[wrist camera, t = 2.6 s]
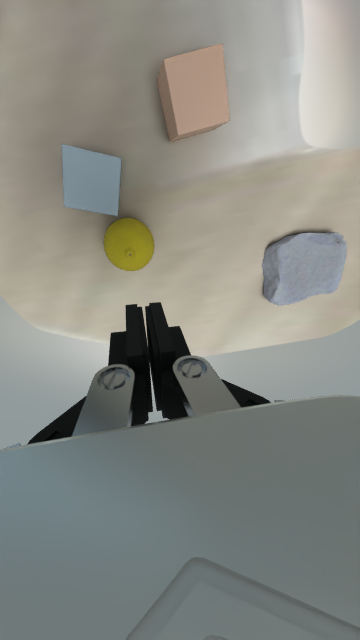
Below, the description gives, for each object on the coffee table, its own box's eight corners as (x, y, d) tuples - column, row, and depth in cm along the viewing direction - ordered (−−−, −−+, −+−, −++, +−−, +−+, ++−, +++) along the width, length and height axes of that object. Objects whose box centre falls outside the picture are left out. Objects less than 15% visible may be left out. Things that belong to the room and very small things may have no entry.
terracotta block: (156, 80, 23) (163, 58, 19) (205, 67, 24) (222, 43, 19) (169, 141, 26) (178, 135, 22) (213, 129, 26) (229, 120, 22)
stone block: (255, 241, 36) (261, 303, 39) (273, 241, 31) (278, 311, 35) (326, 223, 37) (325, 285, 41) (352, 221, 33) (349, 291, 36)
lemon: (96, 238, 29) (88, 256, 23) (125, 202, 28) (125, 211, 21) (132, 267, 32) (133, 291, 25) (159, 236, 31) (169, 252, 24)
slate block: (72, 149, 25) (61, 143, 21) (121, 161, 26) (121, 158, 22) (73, 201, 27) (64, 206, 23) (118, 210, 28) (117, 216, 24)
